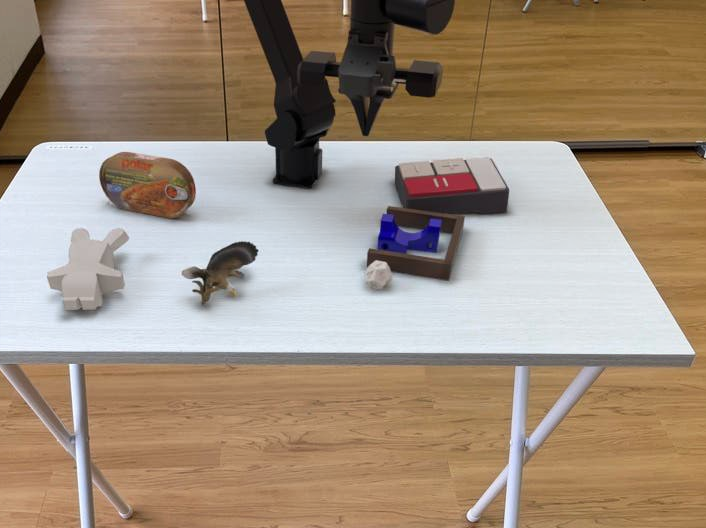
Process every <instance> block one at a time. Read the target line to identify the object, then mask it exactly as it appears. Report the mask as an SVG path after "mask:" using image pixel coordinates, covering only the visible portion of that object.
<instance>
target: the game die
mask: <svg viewBox="0 0 706 528" xmlns="http://www.w3.org/2000/svg"><path fill="white" fill-rule="evenodd" d="M363 274H364V277H365V282H366V283H367V284H368V286H369V288H371V289H377V290H382V289H383V288H385V287H386V286H387V285H388V284H389V283H390V281H391V280H392V279H393V274H392V272H391V270H390V268H389V266H388V264H387V263H386V262H382V261H377V260H376V261H374V262H373V263H372V264H370V265H369V267H368V268H367V267H366V269H365V270H364V272H363Z"/></svg>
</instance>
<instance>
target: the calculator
mask: <svg viewBox="0 0 706 528" xmlns="http://www.w3.org/2000/svg"><path fill="white" fill-rule="evenodd" d="M394 186H395V189H396V191H397V192H396V193H398V197H399V200H400V203H401V206H402V208H407V209H415V210H422V211H429V212H436V213H444V214H457V213H458V214H459V213H470V212H477V213H479V214H480V215H488V214H489V215H490V214H501V213H507V211H508V205H509V196H510V188H509V186H508V184H507V183H506V181H505V179H504V178H503V176H502V174H501V172H500V170H499V169H498V167H497V166H496V163H495V162H494V159H492V158H491V157H489V156H483V157H471V158H466V159H464V158H463V157H457V158H445V159H435V160H432V162H430V161H429V160H423V161H411V162H400V163H398V165H395V166H394Z"/></svg>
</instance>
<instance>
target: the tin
mask: <svg viewBox="0 0 706 528" xmlns="http://www.w3.org/2000/svg"><path fill="white" fill-rule="evenodd" d="M98 177H99V178H98V179H99V183H100V187H101V189H102V191H103V193H104V194H105V196H106V198H107V199H108V200H109V201H110V202H111V203H112V204H113V205H115V206H116V207H118V208H119V209H122V210H124V211H127V212H134V213H139V214H140V213H141V214H145V215H151V216H157V217H161V218H166V219H175V218H178V217H181V216H182V215H184V214H185V213H186V212H187V211H188V209H190V208H191V207H192V206H193V204H194V202H195V201H196V195H197V189H196V188H197V187H196V183H195V179H194V176H193V175H192V173H191V171H190V170H189V169H188V168H187V167H186V166H185V165H184V164H182V163H181V162H180V161H178V160H176V159H173V158H169V157H162V156H156V155H149V154H142V153H136V152H131V151H121V152H118V153H116V154H113V155H112V156H109V157H108V158H106V159H105V160H103V162H102V163H101V165H100V168H99V173H98Z"/></svg>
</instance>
